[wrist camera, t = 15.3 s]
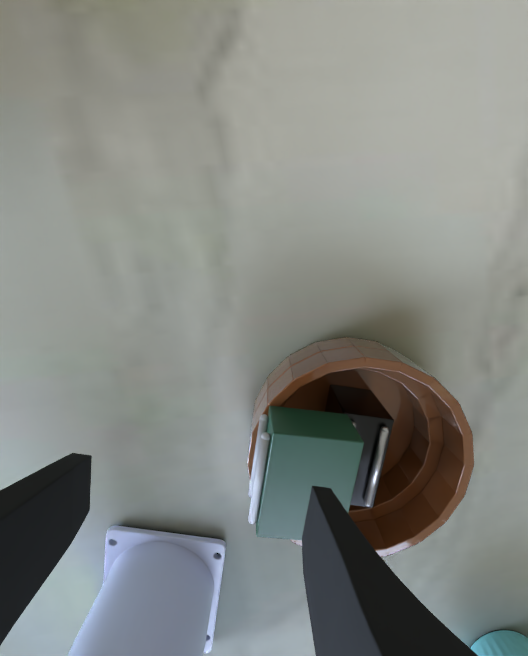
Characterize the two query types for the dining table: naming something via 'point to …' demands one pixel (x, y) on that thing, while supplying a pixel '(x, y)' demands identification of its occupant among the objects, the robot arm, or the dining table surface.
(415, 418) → the bowl
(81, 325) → the dining table surface
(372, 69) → the dining table surface
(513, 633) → the cupcake
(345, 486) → the green clip
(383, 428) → the black clip
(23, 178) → the dining table surface
